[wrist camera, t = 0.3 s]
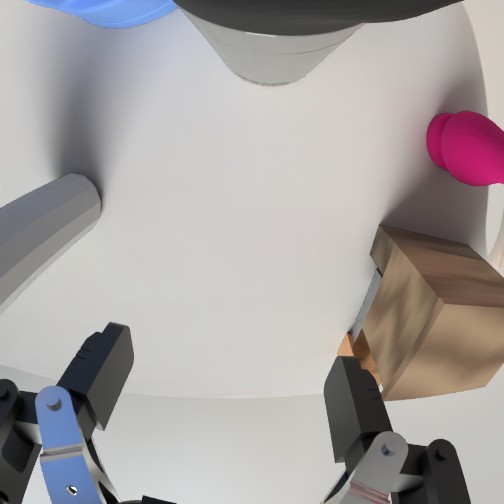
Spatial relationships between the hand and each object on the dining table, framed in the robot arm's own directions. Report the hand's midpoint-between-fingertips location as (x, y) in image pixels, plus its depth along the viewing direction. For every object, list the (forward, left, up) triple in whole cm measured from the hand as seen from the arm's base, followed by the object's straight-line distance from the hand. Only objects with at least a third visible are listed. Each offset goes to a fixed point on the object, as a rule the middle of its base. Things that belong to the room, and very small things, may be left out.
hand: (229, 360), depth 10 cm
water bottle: (+2, -20, -20) cm, 29 cm away
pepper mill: (-11, +20, -20) cm, 30 cm away
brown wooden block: (+5, +21, -20) cm, 29 cm away
